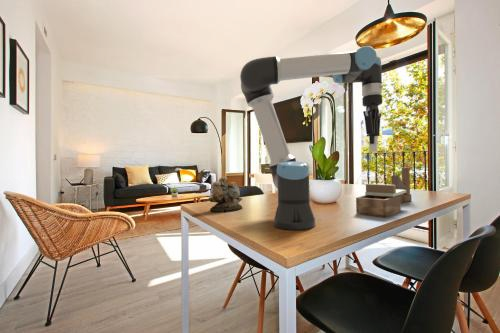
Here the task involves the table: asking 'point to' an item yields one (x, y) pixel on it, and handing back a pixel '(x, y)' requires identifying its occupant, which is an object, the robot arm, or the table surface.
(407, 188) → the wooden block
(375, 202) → the toolbox
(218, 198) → the owl figurine
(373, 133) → the robot arm
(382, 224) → the table surface
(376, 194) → the lid
